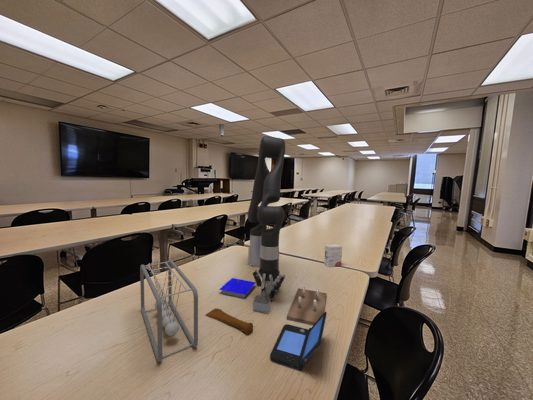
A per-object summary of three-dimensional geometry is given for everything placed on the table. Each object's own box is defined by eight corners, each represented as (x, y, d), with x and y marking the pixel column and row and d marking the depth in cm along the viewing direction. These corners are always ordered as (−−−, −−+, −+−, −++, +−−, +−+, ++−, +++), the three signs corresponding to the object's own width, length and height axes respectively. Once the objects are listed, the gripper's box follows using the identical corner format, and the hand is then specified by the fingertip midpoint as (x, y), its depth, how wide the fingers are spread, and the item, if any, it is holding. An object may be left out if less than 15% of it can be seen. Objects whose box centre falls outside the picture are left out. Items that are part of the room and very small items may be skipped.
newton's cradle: (140, 310, 83) (139, 263, 81) (171, 302, 89) (170, 257, 87) (158, 366, 59) (157, 300, 57) (198, 349, 65) (198, 289, 63)
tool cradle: (286, 319, 80) (287, 305, 80) (298, 290, 101) (298, 279, 100) (321, 327, 76) (322, 312, 76) (326, 295, 97) (326, 284, 97)
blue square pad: (218, 294, 96) (219, 282, 96) (232, 282, 108) (232, 271, 107) (245, 300, 93) (245, 287, 92) (255, 287, 104) (256, 275, 103)
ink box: (337, 263, 136) (338, 243, 135) (341, 266, 131) (342, 246, 130) (323, 263, 134) (324, 244, 133) (327, 267, 130) (328, 246, 128)
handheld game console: (284, 327, 76) (285, 300, 75) (325, 338, 72) (327, 309, 71) (268, 361, 62) (269, 329, 61) (318, 378, 57) (320, 343, 56)
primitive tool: (204, 316, 81) (204, 306, 81) (215, 309, 86) (216, 300, 86) (247, 338, 71) (247, 327, 71) (257, 329, 75) (258, 318, 75)
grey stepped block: (253, 311, 85) (252, 301, 84) (269, 284, 103) (269, 275, 102) (267, 314, 83) (267, 304, 82) (281, 286, 101) (281, 278, 100)
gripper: (249, 256, 90) (248, 298, 91) (284, 261, 85) (282, 305, 87) (256, 250, 97) (255, 290, 99) (288, 255, 92) (287, 296, 94)
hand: (268, 297), depth 93 cm, fingers closed on grey stepped block, 3 cm apart
